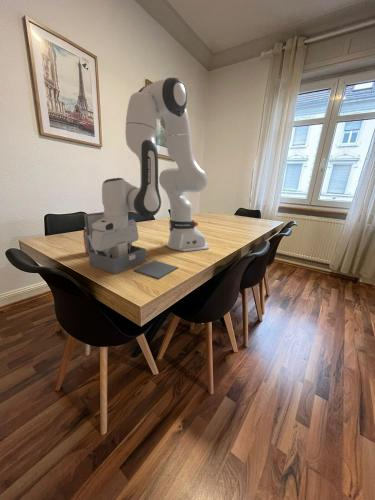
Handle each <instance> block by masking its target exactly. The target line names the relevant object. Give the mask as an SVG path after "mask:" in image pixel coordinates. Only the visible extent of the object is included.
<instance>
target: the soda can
mask: <svg viewBox="0 0 375 500" xmlns="http://www.w3.org/2000/svg"><path fill="white" fill-rule="evenodd" d="M82 233H83V234H82V235H83V243H84V249H85V250H84V251H85V253H86V254H87V255H89V253H88V244H87V236H86V227H85V226H84V229H83V232H82Z"/></svg>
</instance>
